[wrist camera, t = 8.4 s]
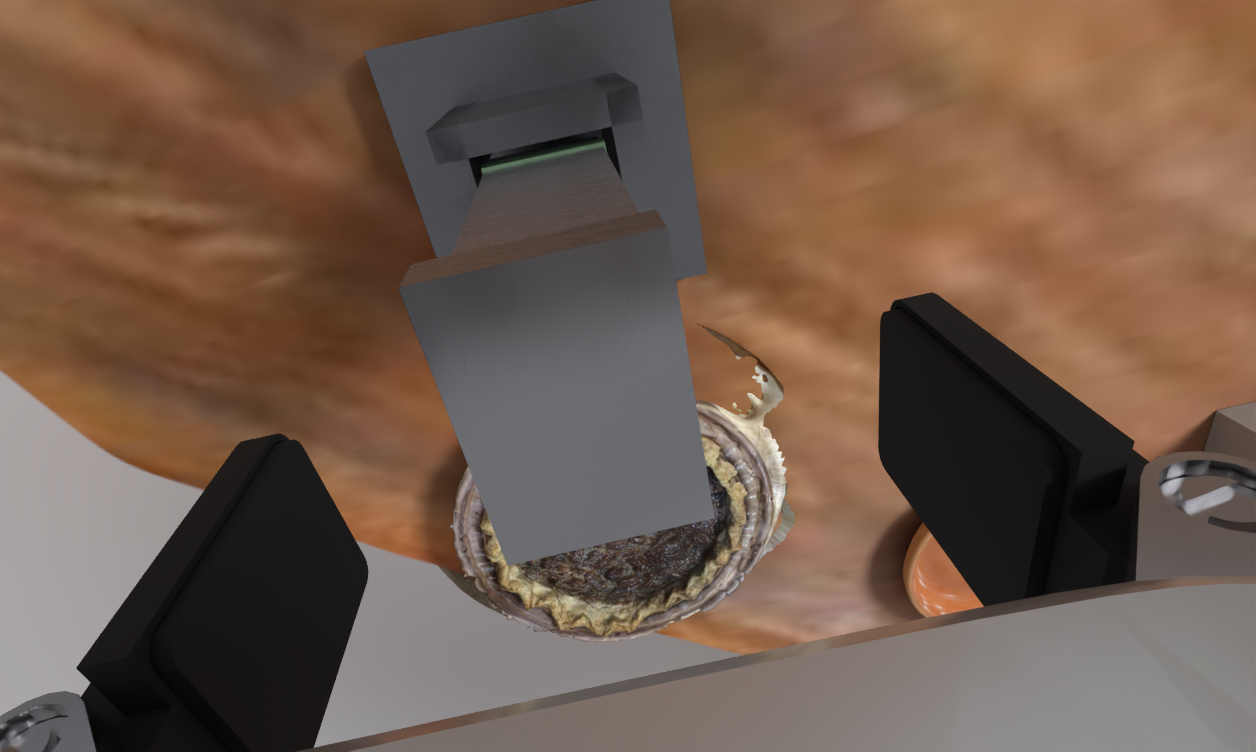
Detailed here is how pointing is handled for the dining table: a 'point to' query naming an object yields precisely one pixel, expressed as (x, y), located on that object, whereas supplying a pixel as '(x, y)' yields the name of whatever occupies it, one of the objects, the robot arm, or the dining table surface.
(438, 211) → the stand
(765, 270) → the dining table surface
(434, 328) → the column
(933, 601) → the saucer
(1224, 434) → the bracket rest
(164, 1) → the dining table surface
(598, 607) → the pie
